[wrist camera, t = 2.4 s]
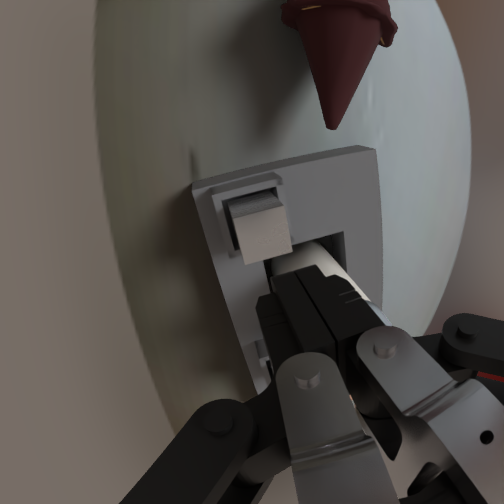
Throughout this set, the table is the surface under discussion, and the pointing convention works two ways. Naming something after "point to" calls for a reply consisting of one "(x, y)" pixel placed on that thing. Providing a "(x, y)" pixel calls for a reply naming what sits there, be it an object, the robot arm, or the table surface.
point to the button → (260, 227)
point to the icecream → (339, 45)
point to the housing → (295, 230)
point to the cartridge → (316, 254)
